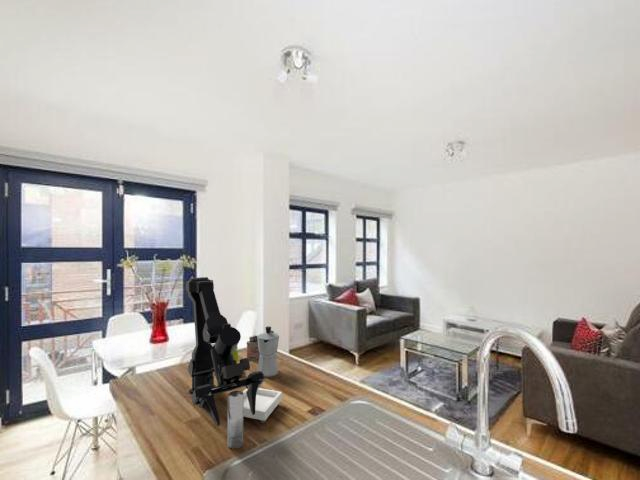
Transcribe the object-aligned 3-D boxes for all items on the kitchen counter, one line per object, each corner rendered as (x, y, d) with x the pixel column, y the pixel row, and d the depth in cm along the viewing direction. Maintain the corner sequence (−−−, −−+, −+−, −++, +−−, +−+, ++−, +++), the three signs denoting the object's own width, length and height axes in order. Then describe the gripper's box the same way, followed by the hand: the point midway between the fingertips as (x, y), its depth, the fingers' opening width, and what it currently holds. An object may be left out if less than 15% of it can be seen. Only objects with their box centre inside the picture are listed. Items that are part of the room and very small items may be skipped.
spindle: (224, 446, 81) (224, 397, 81) (232, 437, 85) (233, 389, 84) (237, 450, 80) (238, 399, 80) (246, 440, 84) (246, 392, 83)
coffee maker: (276, 379, 118) (276, 332, 118) (253, 379, 118) (253, 331, 118) (281, 363, 133) (282, 321, 133) (261, 362, 133) (261, 320, 133)
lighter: (247, 360, 135) (247, 337, 135) (245, 358, 138) (245, 335, 138) (265, 357, 139) (265, 335, 138) (263, 355, 142) (263, 332, 142)
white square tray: (228, 418, 93) (228, 404, 93) (248, 398, 105) (248, 386, 105) (264, 426, 90) (264, 412, 90) (281, 404, 101) (281, 391, 101)
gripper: (194, 356, 80) (205, 421, 71) (262, 342, 90) (279, 397, 82) (187, 375, 87) (197, 436, 78) (252, 360, 97) (266, 413, 88)
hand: (237, 420), depth 81 cm, fingers open, 9 cm apart
